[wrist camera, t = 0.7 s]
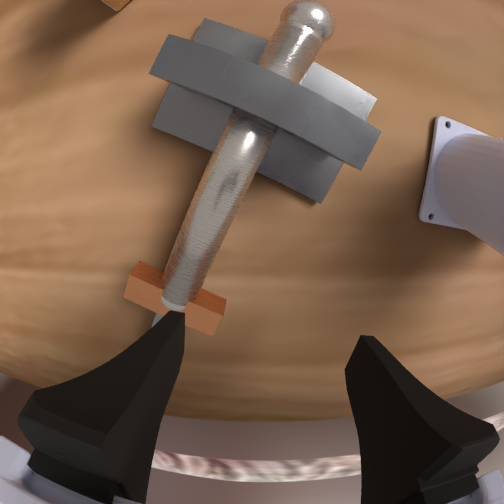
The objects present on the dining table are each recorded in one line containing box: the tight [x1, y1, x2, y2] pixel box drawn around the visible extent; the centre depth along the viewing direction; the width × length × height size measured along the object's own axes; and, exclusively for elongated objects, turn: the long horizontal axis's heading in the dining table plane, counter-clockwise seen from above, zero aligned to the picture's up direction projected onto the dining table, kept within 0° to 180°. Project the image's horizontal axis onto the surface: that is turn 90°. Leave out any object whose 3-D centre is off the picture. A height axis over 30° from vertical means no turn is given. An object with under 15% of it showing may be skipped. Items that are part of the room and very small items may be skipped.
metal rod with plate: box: [123, 0, 336, 336], centre depth 15 cm, size 6×20×3 cm, turn 154°
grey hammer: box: [149, 18, 381, 328], centre depth 18 cm, size 12×26×7 cm, turn 154°
